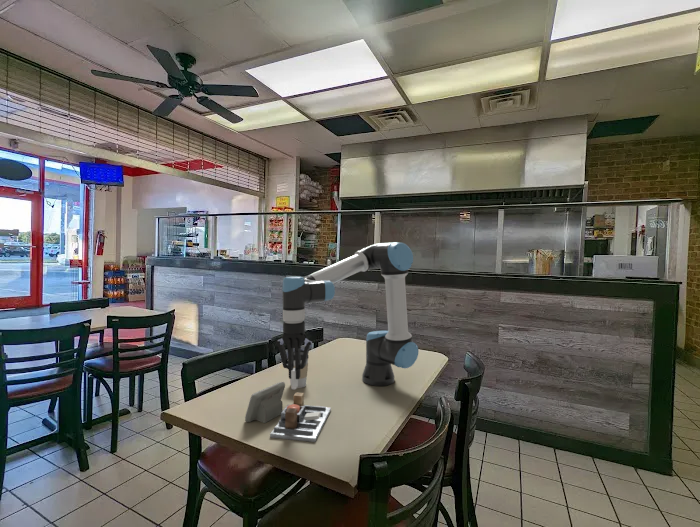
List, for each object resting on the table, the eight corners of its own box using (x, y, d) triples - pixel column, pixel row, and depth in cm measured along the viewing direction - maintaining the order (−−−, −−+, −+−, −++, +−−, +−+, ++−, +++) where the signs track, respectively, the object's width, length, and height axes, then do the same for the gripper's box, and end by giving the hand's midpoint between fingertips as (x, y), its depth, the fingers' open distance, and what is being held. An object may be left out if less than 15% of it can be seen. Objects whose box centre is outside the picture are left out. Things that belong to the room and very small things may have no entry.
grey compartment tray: (330, 410, 129) (330, 399, 129) (315, 442, 107) (315, 428, 107) (292, 407, 131) (292, 396, 131) (270, 437, 110) (270, 423, 110)
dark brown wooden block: (296, 425, 114) (297, 408, 114) (294, 430, 111) (294, 412, 111) (288, 425, 115) (288, 408, 115) (285, 429, 112) (285, 412, 112)
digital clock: (277, 405, 133) (278, 378, 133) (291, 412, 127) (292, 384, 127) (239, 419, 122) (239, 389, 121) (253, 428, 115) (253, 397, 115)
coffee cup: (304, 389, 149) (304, 355, 148) (285, 387, 150) (285, 354, 150) (311, 382, 157) (311, 350, 157) (292, 380, 159) (292, 348, 159)
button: (301, 413, 122) (301, 404, 121) (297, 419, 117) (297, 410, 117) (289, 412, 122) (289, 403, 122) (285, 417, 118) (285, 409, 118)
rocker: (320, 415, 120) (320, 411, 120) (318, 419, 117) (318, 415, 117) (307, 416, 120) (306, 413, 120) (304, 420, 118) (304, 417, 118)
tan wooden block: (303, 408, 127) (303, 393, 127) (301, 411, 125) (301, 396, 124) (296, 407, 128) (296, 392, 128) (293, 411, 125) (293, 395, 125)
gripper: (314, 319, 122) (315, 384, 122) (280, 318, 124) (280, 382, 125) (308, 323, 114) (309, 393, 115) (272, 322, 116) (273, 390, 117)
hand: (294, 387), depth 120 cm, fingers closed
